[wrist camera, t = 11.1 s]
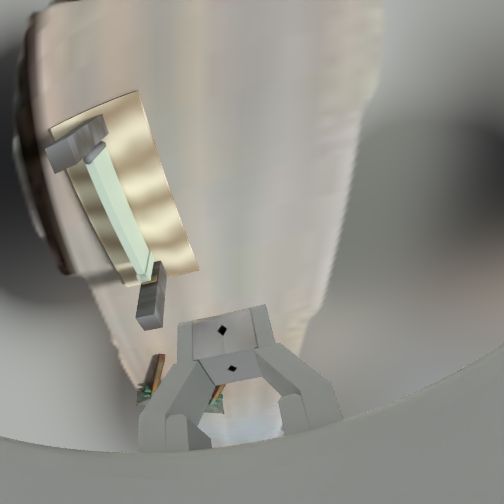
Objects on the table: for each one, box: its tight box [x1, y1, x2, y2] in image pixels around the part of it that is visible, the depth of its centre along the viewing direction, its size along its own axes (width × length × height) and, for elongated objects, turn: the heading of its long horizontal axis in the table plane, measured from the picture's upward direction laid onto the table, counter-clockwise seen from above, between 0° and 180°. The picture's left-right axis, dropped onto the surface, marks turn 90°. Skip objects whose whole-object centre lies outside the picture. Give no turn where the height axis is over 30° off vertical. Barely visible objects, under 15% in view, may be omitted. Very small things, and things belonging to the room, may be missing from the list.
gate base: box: [45, 91, 199, 331], centre depth 37 cm, size 31×14×13 cm, turn 10°
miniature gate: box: [136, 354, 226, 414], centre depth 76 cm, size 27×6×30 cm
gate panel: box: [83, 141, 154, 283], centre depth 39 cm, size 21×2×6 cm, turn 10°
